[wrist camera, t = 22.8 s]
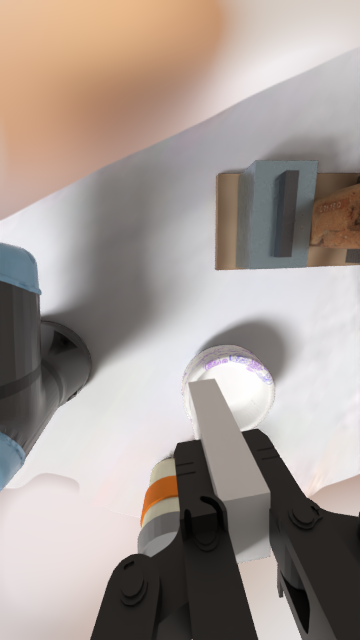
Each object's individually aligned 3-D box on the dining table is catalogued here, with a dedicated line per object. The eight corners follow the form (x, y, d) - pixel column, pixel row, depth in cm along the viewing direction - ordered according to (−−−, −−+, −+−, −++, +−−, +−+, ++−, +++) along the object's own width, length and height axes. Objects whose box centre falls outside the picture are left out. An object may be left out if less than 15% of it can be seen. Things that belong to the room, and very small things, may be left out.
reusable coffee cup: (157, 505, 54) (156, 596, 40) (132, 465, 51) (121, 549, 36) (209, 484, 54) (227, 568, 40) (187, 442, 50) (199, 518, 36)
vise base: (215, 269, 41) (229, 273, 33) (216, 176, 37) (232, 155, 29) (354, 264, 43) (400, 267, 35) (368, 175, 39) (423, 155, 31)
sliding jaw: (235, 266, 40) (254, 270, 32) (238, 176, 36) (260, 155, 28) (283, 264, 40) (313, 268, 32) (290, 176, 37) (326, 155, 29)
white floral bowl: (181, 412, 48) (186, 442, 41) (177, 341, 44) (181, 359, 37) (256, 405, 49) (274, 433, 42) (259, 335, 45) (279, 351, 38)
